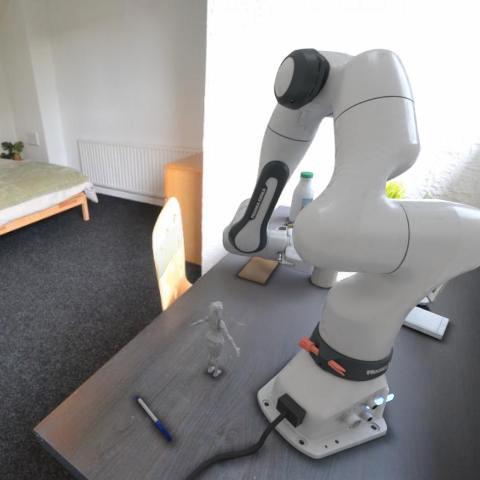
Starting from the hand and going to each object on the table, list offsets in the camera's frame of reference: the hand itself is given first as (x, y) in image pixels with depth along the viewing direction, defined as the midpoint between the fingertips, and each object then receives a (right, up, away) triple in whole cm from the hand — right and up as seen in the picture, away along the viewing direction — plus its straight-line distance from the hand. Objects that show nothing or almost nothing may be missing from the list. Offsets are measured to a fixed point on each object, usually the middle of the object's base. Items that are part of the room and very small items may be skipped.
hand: (330, 253), depth 93 cm
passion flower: (-1, +2, +24) cm, 25 cm away
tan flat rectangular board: (-16, -5, +12) cm, 21 cm away
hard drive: (+15, -16, -11) cm, 24 cm away
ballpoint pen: (-49, -28, -33) cm, 66 cm away
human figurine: (-37, -24, -25) cm, 51 cm away
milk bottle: (+9, +12, +44) cm, 47 cm away
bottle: (0, -8, +4) cm, 9 cm away
